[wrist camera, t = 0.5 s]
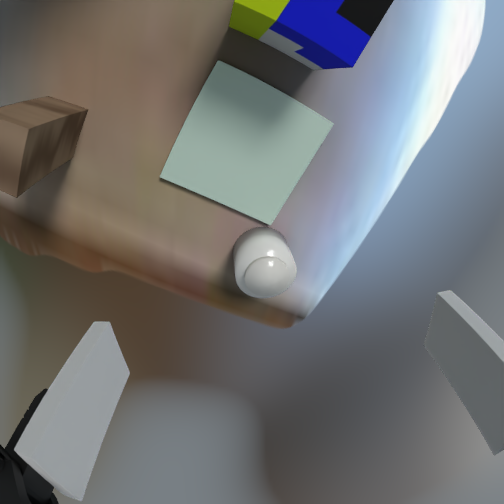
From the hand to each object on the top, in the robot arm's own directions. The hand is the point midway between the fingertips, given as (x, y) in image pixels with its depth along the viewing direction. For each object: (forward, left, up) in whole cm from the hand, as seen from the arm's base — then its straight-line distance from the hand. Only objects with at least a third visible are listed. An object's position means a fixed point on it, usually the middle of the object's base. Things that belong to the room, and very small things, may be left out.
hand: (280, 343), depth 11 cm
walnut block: (+4, -21, -25) cm, 33 cm away
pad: (-2, 0, -24) cm, 25 cm away
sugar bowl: (+9, +8, -25) cm, 27 cm away
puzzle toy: (-18, -3, -25) cm, 31 cm away
